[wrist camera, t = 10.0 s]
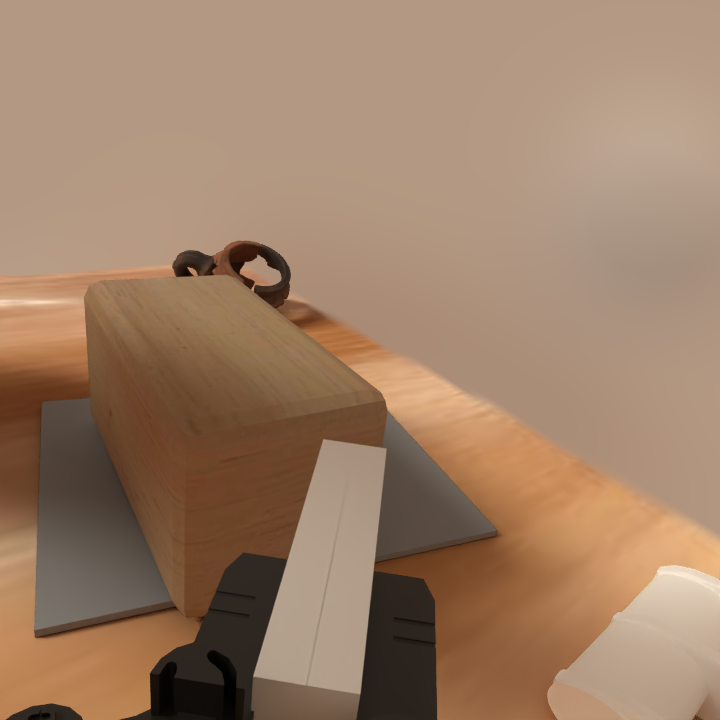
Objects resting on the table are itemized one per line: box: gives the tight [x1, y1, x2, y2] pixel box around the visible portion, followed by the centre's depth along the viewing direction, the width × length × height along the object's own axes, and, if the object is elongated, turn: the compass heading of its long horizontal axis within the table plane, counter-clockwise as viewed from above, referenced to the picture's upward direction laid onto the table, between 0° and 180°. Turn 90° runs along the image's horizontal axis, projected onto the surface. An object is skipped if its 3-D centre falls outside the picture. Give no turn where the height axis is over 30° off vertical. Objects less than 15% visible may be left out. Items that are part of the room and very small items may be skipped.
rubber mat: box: [34, 398, 498, 637], centre depth 40 cm, size 21×24×1 cm
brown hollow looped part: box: [172, 241, 291, 309], centre depth 65 cm, size 12×10×8 cm
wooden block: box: [84, 275, 387, 617], centre depth 35 cm, size 10×10×20 cm
